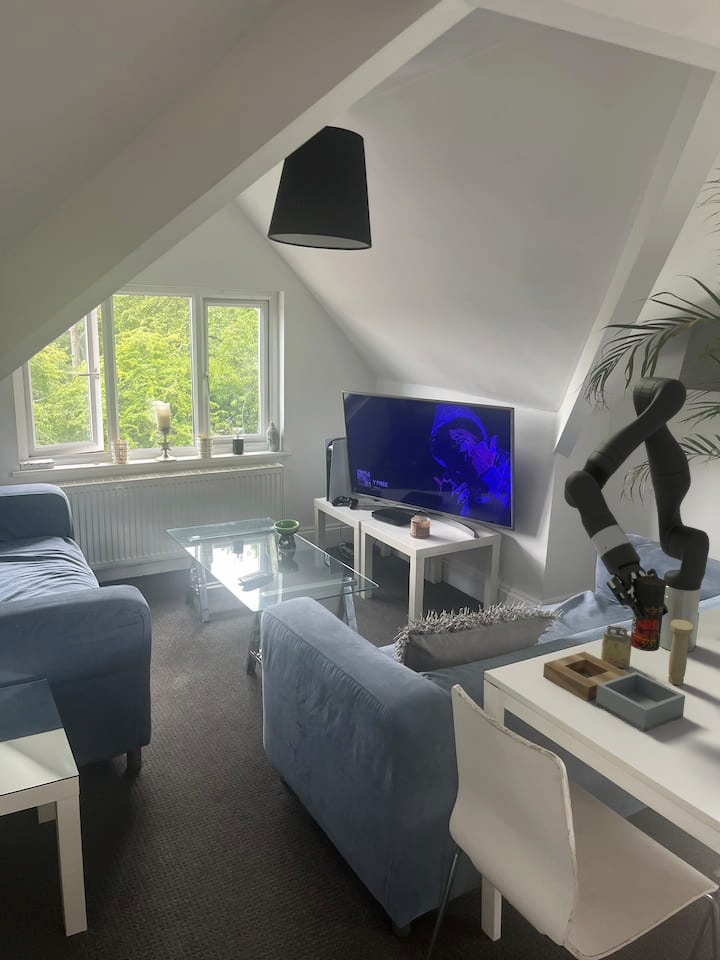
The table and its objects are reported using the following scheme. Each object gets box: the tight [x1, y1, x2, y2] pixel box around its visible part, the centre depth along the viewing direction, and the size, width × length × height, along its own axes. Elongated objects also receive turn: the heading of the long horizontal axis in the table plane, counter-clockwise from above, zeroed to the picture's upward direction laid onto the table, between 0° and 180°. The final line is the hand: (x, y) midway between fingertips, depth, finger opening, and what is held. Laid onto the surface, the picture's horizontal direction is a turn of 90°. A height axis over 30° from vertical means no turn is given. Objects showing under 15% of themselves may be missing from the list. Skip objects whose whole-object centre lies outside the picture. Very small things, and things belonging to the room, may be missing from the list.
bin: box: [595, 671, 686, 733], centre depth 160 cm, size 13×13×5 cm
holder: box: [542, 651, 630, 702], centre depth 173 cm, size 14×14×4 cm
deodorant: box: [630, 576, 666, 652], centre depth 156 cm, size 6×6×15 cm
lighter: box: [600, 625, 632, 669], centre depth 182 cm, size 7×4×10 cm, turn 67°
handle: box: [668, 619, 693, 686], centre depth 172 cm, size 5×6×15 cm
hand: (654, 616), depth 155 cm, fingers closed on deodorant, 6 cm apart
